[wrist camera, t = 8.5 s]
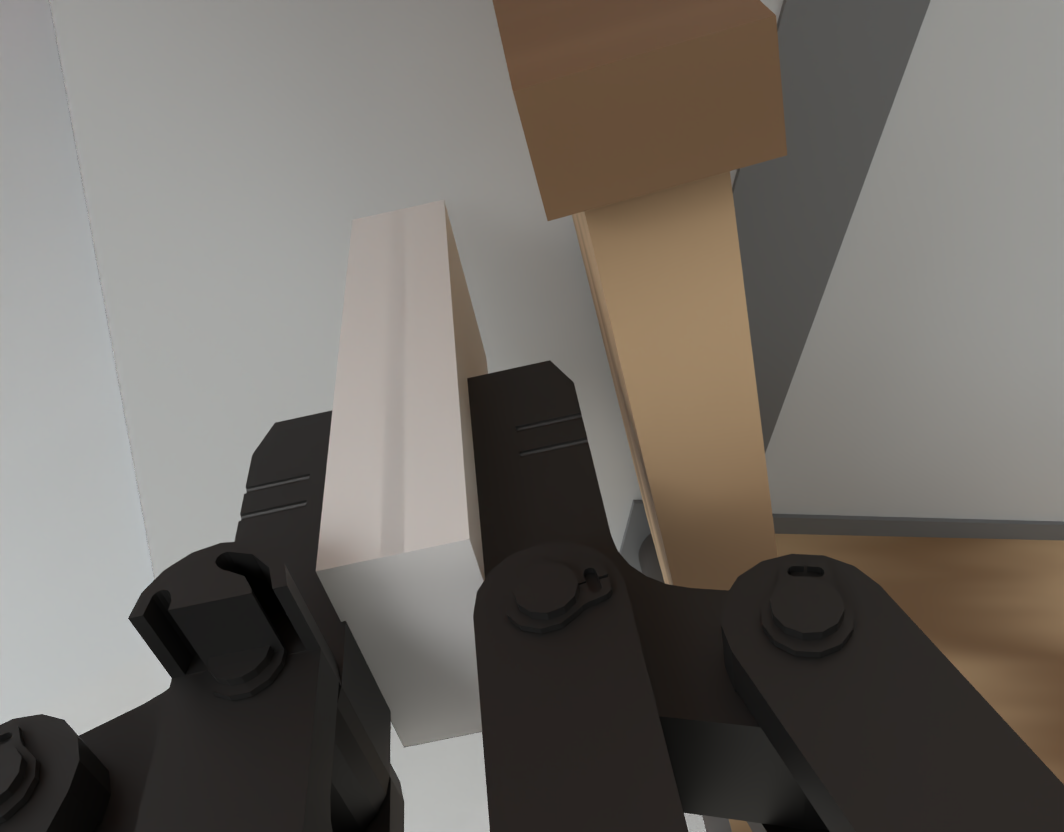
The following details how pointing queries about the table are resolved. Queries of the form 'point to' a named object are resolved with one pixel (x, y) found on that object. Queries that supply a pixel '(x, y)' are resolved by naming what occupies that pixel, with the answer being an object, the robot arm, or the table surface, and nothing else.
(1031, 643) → the fence panel fixed
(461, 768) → the table surface
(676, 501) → the fence panel hinged
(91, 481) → the table surface
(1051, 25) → the board
